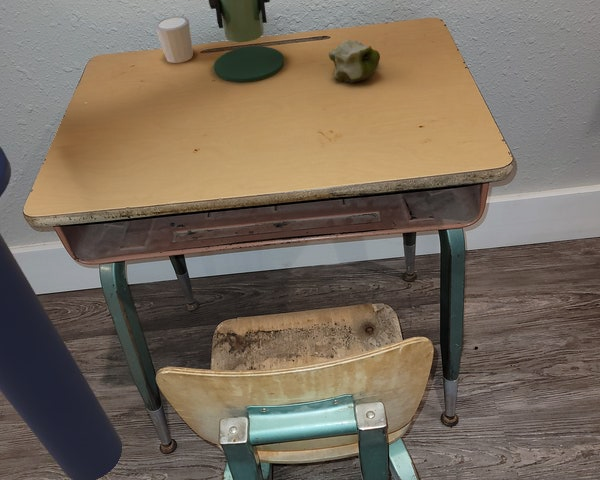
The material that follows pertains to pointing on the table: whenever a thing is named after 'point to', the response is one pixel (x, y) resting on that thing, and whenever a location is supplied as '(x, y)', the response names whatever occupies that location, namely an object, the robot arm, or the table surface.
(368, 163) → the table surface
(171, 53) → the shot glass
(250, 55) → the green mat
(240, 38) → the green cup
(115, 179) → the table surface
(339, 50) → the grey and green rock
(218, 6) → the robot arm
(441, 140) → the table surface
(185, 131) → the table surface
